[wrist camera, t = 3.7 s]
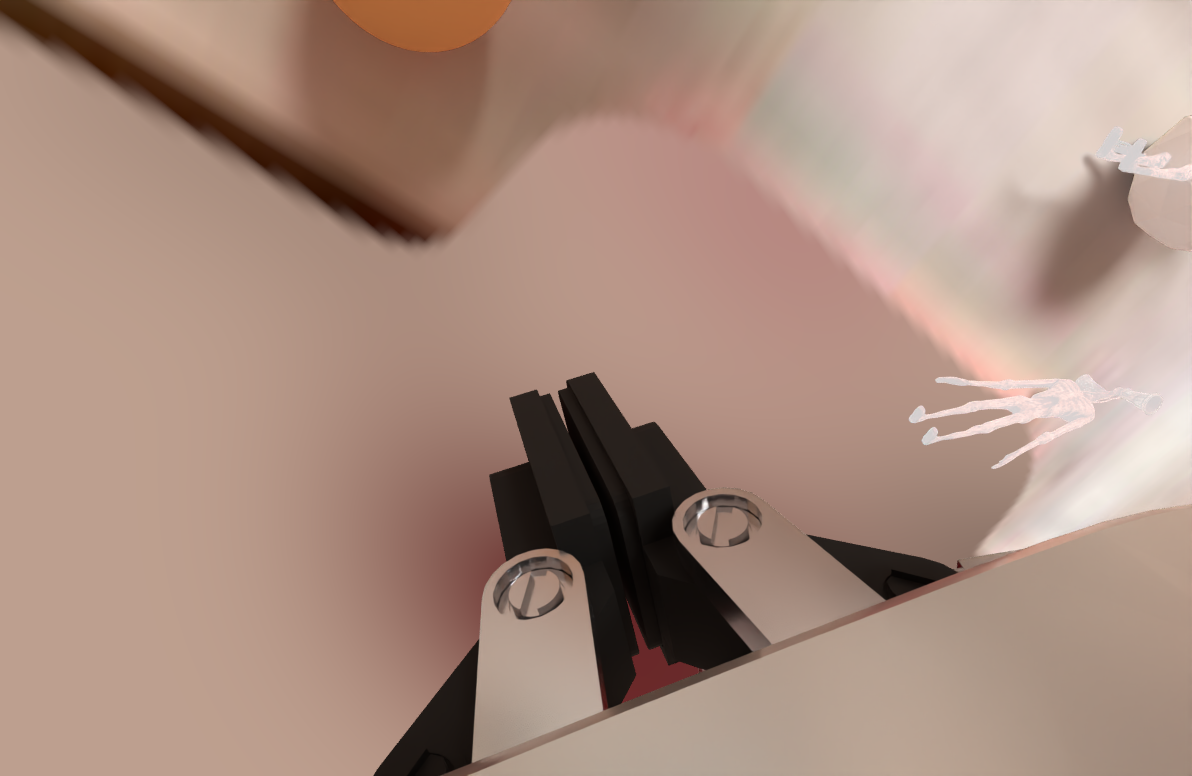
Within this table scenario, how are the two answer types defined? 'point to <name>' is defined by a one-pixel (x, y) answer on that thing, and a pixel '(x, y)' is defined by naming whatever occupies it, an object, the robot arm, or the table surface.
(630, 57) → the table surface
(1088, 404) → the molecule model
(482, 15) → the ball
